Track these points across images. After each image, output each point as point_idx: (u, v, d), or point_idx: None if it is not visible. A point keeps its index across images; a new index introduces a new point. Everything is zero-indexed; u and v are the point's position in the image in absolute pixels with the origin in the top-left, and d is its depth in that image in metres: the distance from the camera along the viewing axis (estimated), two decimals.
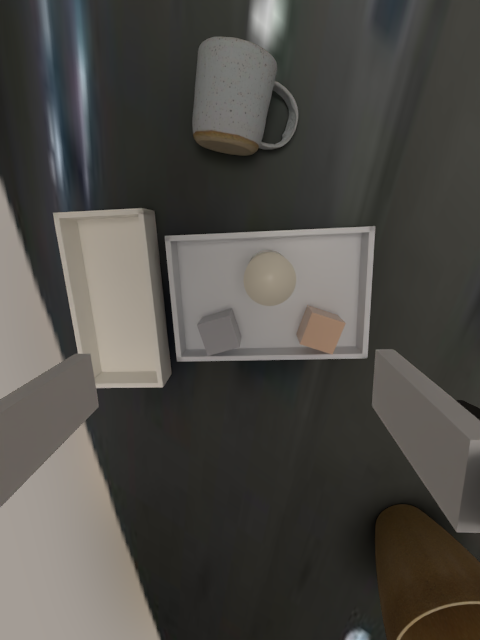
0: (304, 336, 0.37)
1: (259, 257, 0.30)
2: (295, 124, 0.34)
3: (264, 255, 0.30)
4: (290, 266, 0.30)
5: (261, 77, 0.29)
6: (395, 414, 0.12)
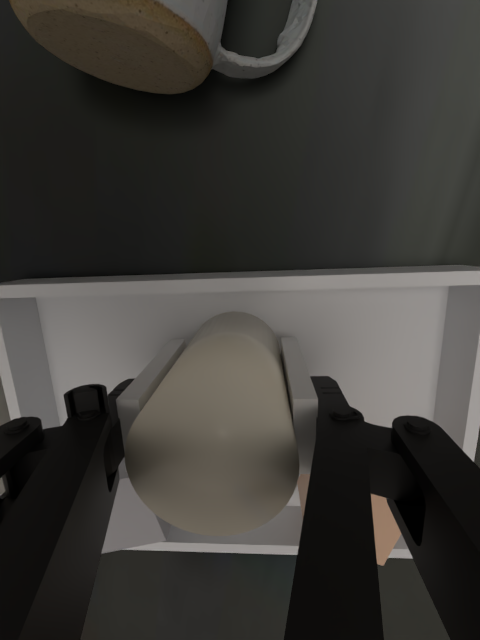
0: None
1: (172, 395, 0.09)
2: (312, 6, 0.13)
3: (189, 389, 0.09)
4: (281, 426, 0.09)
5: None
6: None
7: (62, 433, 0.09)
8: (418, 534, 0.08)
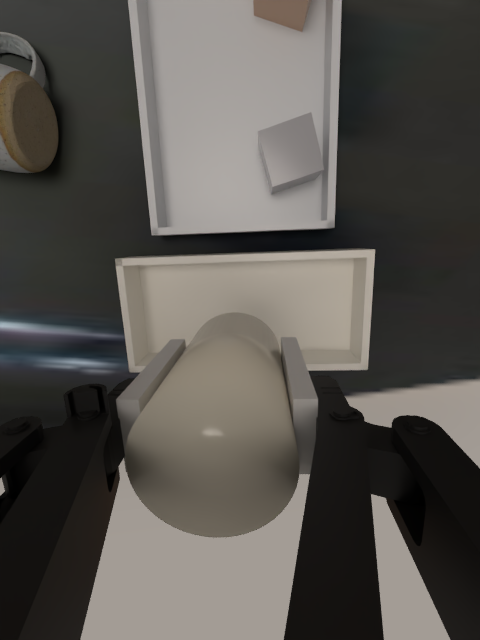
0: None
1: (172, 397, 0.09)
2: (9, 35, 0.26)
3: (189, 391, 0.09)
4: (281, 427, 0.09)
5: None
6: None
7: (62, 433, 0.09)
8: (418, 534, 0.08)
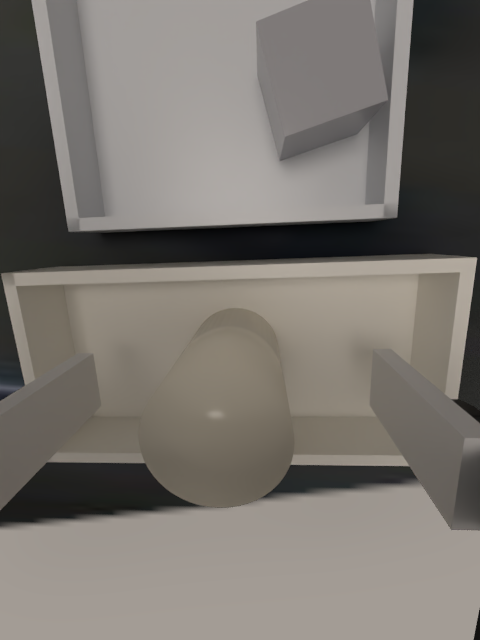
0: None
1: (181, 380, 0.10)
2: None
3: (196, 374, 0.10)
4: (278, 407, 0.10)
5: None
6: (392, 413, 0.12)
7: None
8: None
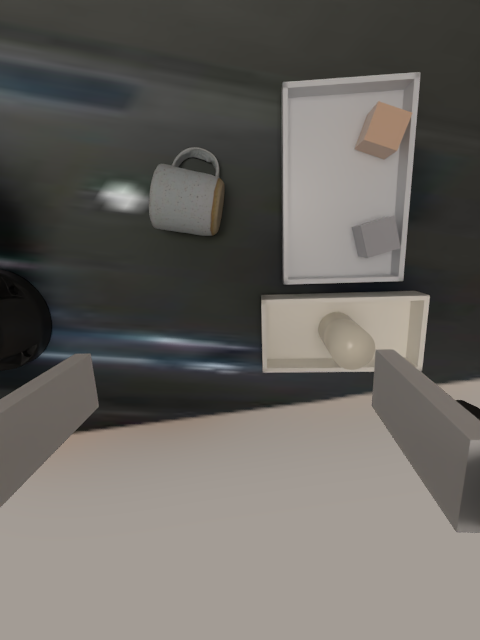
0: (389, 145, 0.36)
1: (345, 331, 0.37)
2: (200, 149, 0.40)
3: (350, 330, 0.36)
4: (371, 338, 0.37)
5: (173, 172, 0.37)
6: (395, 415, 0.12)
7: None
8: None
